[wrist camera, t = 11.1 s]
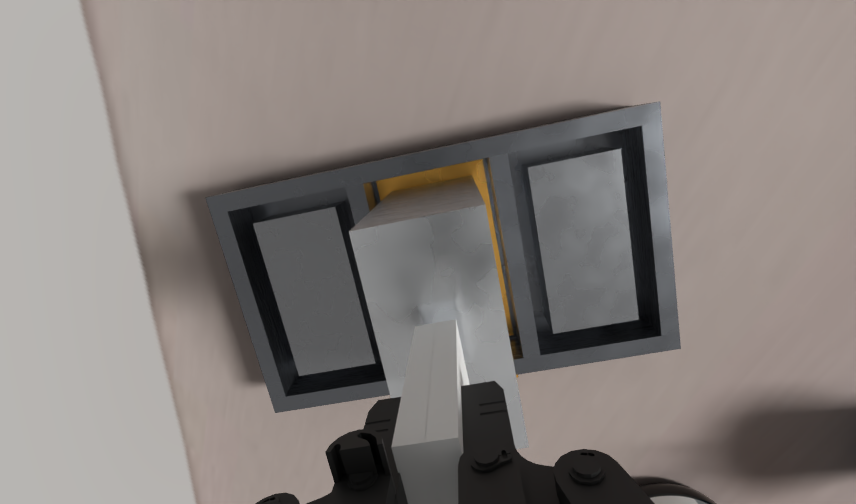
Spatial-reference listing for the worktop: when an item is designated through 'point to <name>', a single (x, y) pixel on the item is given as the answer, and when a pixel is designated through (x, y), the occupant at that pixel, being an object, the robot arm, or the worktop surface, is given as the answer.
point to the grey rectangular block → (437, 282)
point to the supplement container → (674, 494)
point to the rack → (512, 243)
